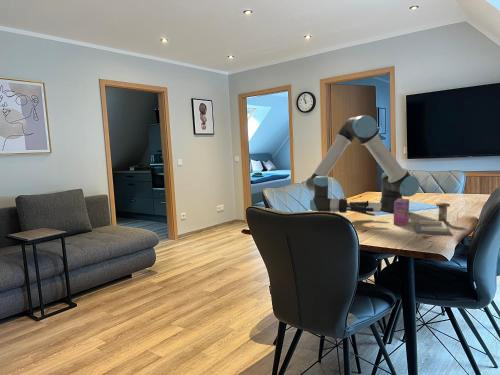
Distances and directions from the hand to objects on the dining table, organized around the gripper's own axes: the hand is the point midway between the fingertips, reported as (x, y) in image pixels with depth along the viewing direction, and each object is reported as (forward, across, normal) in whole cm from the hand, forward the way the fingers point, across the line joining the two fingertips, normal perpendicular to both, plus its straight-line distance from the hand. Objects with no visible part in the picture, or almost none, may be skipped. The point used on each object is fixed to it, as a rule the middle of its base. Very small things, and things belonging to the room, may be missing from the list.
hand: (380, 207), depth 190 cm
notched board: (+23, +12, -8) cm, 27 cm away
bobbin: (+29, -3, -7) cm, 30 cm away
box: (+10, 0, -8) cm, 13 cm away
